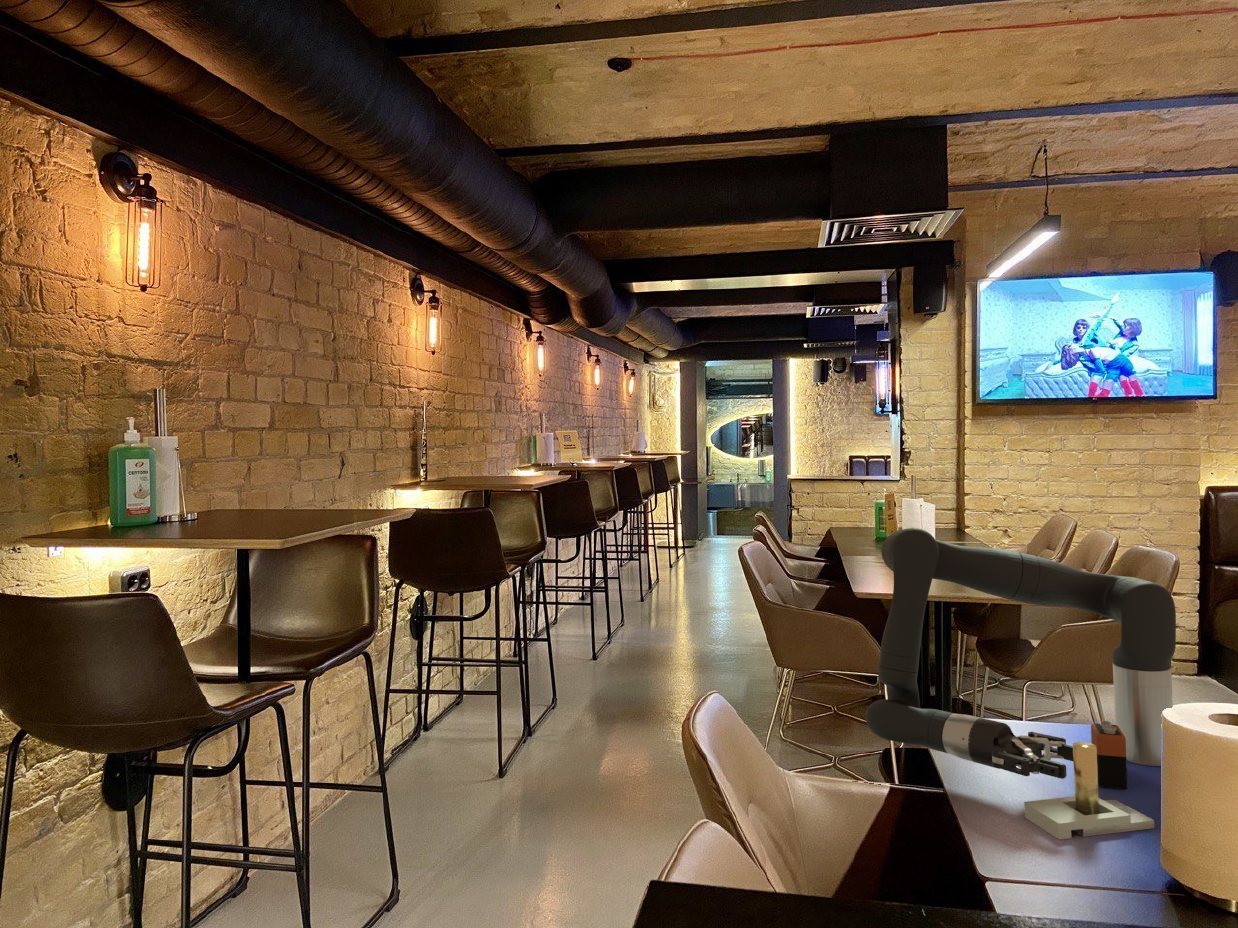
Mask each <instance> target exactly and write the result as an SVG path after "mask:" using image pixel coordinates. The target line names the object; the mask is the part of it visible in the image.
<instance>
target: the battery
mask: <svg viewBox="0 0 1238 928" xmlns="http://www.w3.org/2000/svg"><path fill="white" fill-rule="evenodd" d="M1090 738H1091V740H1090V741H1091V744H1094V745H1095V746H1096V749H1097V773H1098V787H1100V788H1106V789H1115V790H1116V789H1119V790H1127V789H1128V765H1127V764H1128V761H1127V759H1126V738H1125V736H1124V735H1123V733H1122V731H1121V730H1120V728H1119V727H1118V726H1117V725H1115V724H1112V722H1111V721H1108V720H1100V723H1091V724H1090Z"/></svg>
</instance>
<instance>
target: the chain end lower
mask: <svg viewBox="0 0 1238 928" xmlns="http://www.w3.org/2000/svg"><path fill="white" fill-rule="evenodd" d="M1104 801H1105V802H1107V803H1109V804H1111V805H1113V806H1115V807H1116V808H1118V809H1120V810H1122V811H1124V812H1126V813H1127V814H1129V815H1130V817H1131V823H1127V824H1119V825H1110V826H1102V827H1093V828H1085V829H1077V830H1073V831H1074V832H1075V833H1077V834H1079V836H1081V837H1091V836H1101V835H1109V834H1117V833H1124V832H1125V833H1126V832H1134V831H1140V830H1148V829H1151V830H1152V829H1155V820H1154V819H1152V818H1151V817H1149V816H1147V815H1145V814H1143V813H1141V812H1140V811H1137V810H1136V809H1135V808H1132V807H1130V806H1128V805H1126V804H1124V803H1123V802H1121V801H1119V800H1117V799H1115V798H1114V799H1105V800H1104ZM1074 809H1075V808H1074ZM1099 814H1102V813H1101V812H1100V811H1099Z"/></svg>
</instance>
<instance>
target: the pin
mask: <svg viewBox="0 0 1238 928" xmlns="http://www.w3.org/2000/svg"><path fill="white" fill-rule="evenodd" d="M1072 746H1073V761H1072V762H1073V775H1074V776H1073V780H1074V781H1073V783H1074V784H1073V785H1074V796H1075V810H1076V811H1078V812H1080V813H1081V814H1083V815H1093V814H1099V798H1100V797H1099V785H1098V773H1097V749H1096V746H1095V745H1094V744H1092V742H1086V741H1075V742H1073V743H1072Z"/></svg>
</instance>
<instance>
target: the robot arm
mask: <svg viewBox="0 0 1238 928" xmlns="http://www.w3.org/2000/svg"><path fill="white" fill-rule="evenodd" d="M880 550H881V551H880V552H881V553H880V554H881V558H882V560H883V562H884V564H885V566H886V567H887V568H888V569H889V570H891V572H893V590H892V591H893V592H892V598H891V599H892V600H891V604H890V610H889V613H888V615H887V620H886V623H885V627H884V630H883V634H882V638H881V643H880V644H881V645H880V653H879V654H880V655H879V661H878V671H877V672H878V673H877V674H878V680H879V681H880V683H882V684H883V685H885V686H886V691H887V692H886V693H887V699H885V698H884V699H879V700H875V701H873V702H872V703H870V705H869V706H868V707H867V709H866V711H865V714H864V715H865V723H866V726H867V728H868V729H869V731H870V732H871V733H873V734H874V735H875V736H877V737H878V738H879V739H883V740H887V741H892V742H896V743H903V744H908V745H917V746H921V747H925V748H928V749H931V750H933V751H937V752H941V753H945V754H948V755H952V756H954V757H956V758H959V759H962V760H965V761H968V762H973V763H976V764H979V765H980V764H981V765H983V766H986V767H987V766H988V767H991V768H995V769H998V770H1004V771H1007V772H1010V773H1013V774H1017V775H1021V776H1023V777H1030V776H1031V774H1034V775H1040V774H1042V775H1045V776H1050V777H1053V778H1057V779H1060V780H1063V779H1065V778H1066V777H1067V765H1066V764H1065V763H1063V762H1059V761H1054V760H1052V759H1060V760H1061V759H1062V760H1066V761H1071V762H1073V745H1068V744H1067V741H1066V738H1063V737H1059V736H1053V735H1051V734H1050V735H1049V734H1045V733H1039V732H1034V731H1028V732H1027V735H1022V734H1021V735H1018V736H1016V735H1015V733H1013V731H1012V728H1011V727H1010V726H1009V724H1007V723H1005V722H1001V721H996V720H992V719H988V718H983V717H978V716H975V715H970V714H961V713H954V712H950V711H946V710H941V709H940V710H939V709H935V708H921V701H920V693H919V686H918V681H917V680H918V673H919V664H920V655H921V654H920V653H921V643H922V635H923V626H924V618H925V613H926V608H927V603H928V597H929V594H930V589H931V585H932V582H933V580H937V581H938V580H939V581H945V582H949V583H953V584H958V585H960V586H962V587H966V588H968V589H972V590H974V591H978V592H981V593H984V594H988V595H992V596H995V597H999V598H1002V599H1006V600H1010V601H1015V602H1017V603H1019V602H1020V603H1023V604H1028V605H1035V606H1042V607H1044V606H1045V607H1060V608H1061V607H1062V608H1063V607H1065V608H1075V609H1079V610H1082V611H1085V612H1088V613H1089V612H1090V613H1093V614H1097V615H1099V616H1102V617H1105V618H1107V619H1110V620H1112V621H1115V622H1117V623H1119V624H1120V642H1119V644H1118V645H1117V646H1115V647H1114V648H1113V650H1112V654H1111V655H1112V656H1111V657H1112V675H1113V677H1112V679H1113V698H1114V699H1113V701H1114V702H1113V703H1114V725H1117V726H1118V727H1119V728H1120V730H1121V731H1122V733H1123V735H1124V736H1125V738H1126V759H1127V762H1130V763H1134V764H1138V765H1143V766H1150V767H1151V766H1152V767H1153V766H1154V767H1162V766H1161V731H1160V730H1161V724H1162V717H1161V714H1162V711H1163V710H1164V709H1166V708H1172V707H1174V705H1173V704H1174V701H1173V700H1174V699H1173V697H1174V696H1173V677H1172V676H1173V675H1172V660H1173V657H1174V655H1175V653H1176V652H1175V651H1176V647H1177V646H1176V642H1177V641H1176V640H1177V638H1176V637H1177V615H1176V614H1177V612H1176V605H1175V600H1174V598H1173V595H1172V594H1171V593H1170V591H1169V590H1168V589H1167V588H1165V587H1164V586H1163V585H1161V584H1159V583H1157V582H1154V581H1149V580H1146V579H1144V578H1143V579H1142V578H1139V577H1134V576H1123V575H1112V574H1106V573H1105V574H1104V573H1096V572H1092V571H1091V572H1090V571H1085V570H1080V569H1077V568H1075V567H1072V566H1069V565H1066V564H1063V563H1060V562H1058V561H1054V560H1052V559H1048V558H1045V557H1041V556H1038V555H1032V554H1028V553H1023V552H1020V551H1019V552H1018V551H1015V550H1009V549H1001V548H993V547H991V548H990V547H979V546H963V545H958V544H953V543H949V542H945V541H942V540H939V539H936V538H935V537H934V536H933V535H932V534H931V533H930V532H928V531H927V530H925V529H923V528H919V527H907V528H903V529H899V530H896V531H894V532H892V533H891V534H890V535H888V536H887V537H886V539H885V540H884V541H883V543H882V545H881V549H880Z"/></svg>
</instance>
